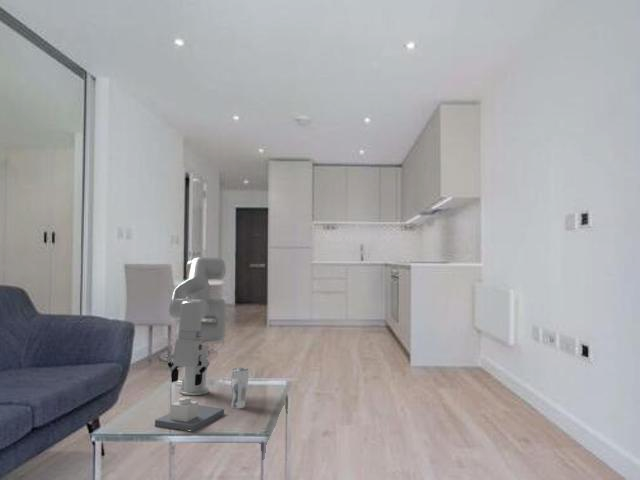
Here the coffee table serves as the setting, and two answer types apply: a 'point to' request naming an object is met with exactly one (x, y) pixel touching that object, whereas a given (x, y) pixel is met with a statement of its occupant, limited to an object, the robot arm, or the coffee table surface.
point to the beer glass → (239, 387)
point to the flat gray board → (203, 417)
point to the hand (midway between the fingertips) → (186, 383)
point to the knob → (184, 409)
